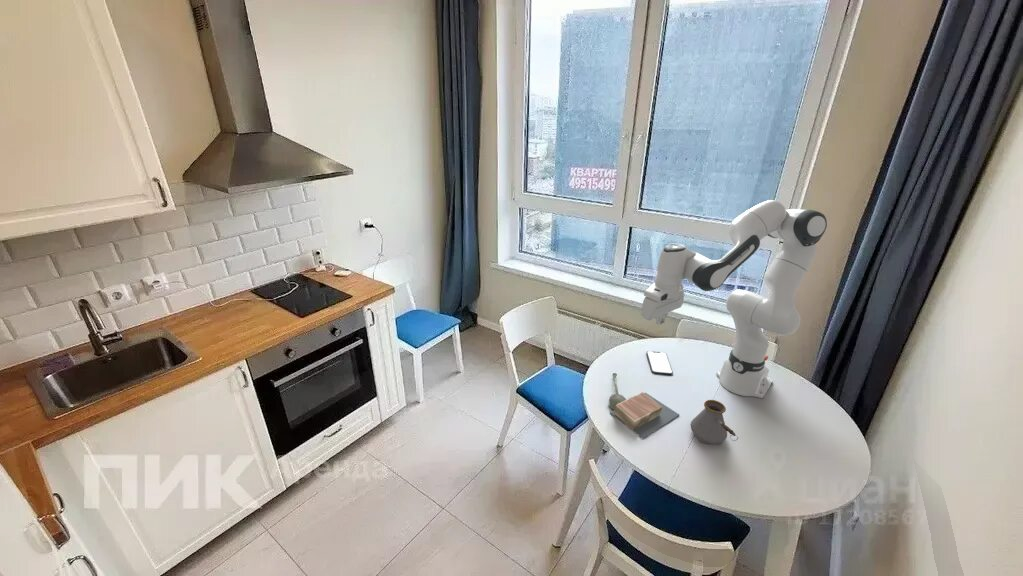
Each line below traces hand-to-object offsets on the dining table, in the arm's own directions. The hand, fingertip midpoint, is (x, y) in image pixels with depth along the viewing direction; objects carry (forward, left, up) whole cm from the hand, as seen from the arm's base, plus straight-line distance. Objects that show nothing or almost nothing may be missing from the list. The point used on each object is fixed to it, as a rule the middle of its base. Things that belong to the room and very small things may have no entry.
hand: (659, 323), depth 151 cm
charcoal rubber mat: (+14, +9, -29) cm, 34 cm away
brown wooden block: (+10, +9, -26) cm, 30 cm away
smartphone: (-18, -8, -30) cm, 36 cm away
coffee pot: (+8, +32, -29) cm, 44 cm away
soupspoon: (+13, -5, -29) cm, 32 cm away
